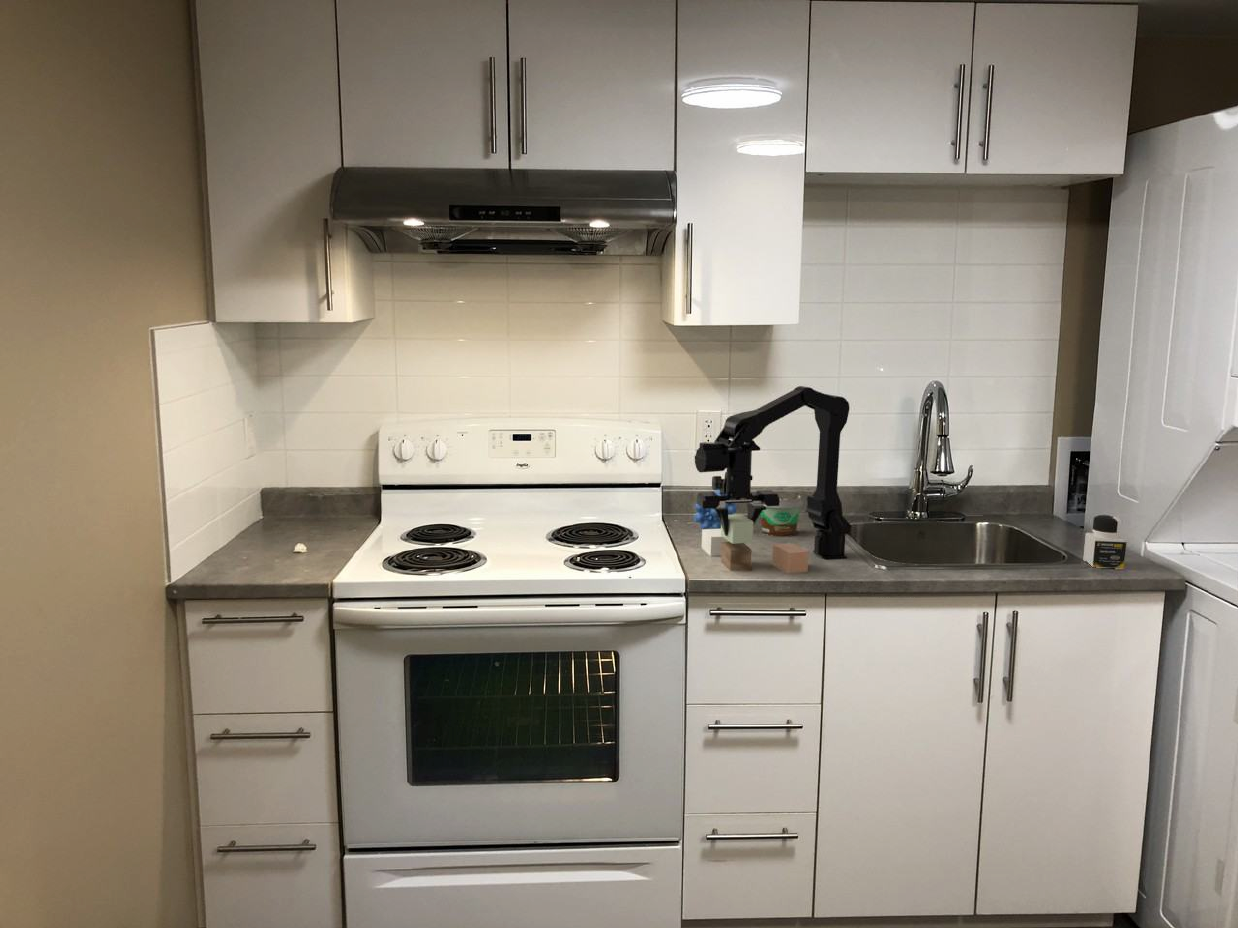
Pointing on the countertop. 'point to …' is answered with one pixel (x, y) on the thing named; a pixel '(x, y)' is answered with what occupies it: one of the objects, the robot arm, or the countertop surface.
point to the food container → (781, 517)
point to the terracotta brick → (790, 558)
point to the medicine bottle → (1105, 543)
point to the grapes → (711, 515)
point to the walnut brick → (736, 556)
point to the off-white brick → (712, 541)
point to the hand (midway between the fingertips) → (736, 534)
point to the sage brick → (739, 529)
